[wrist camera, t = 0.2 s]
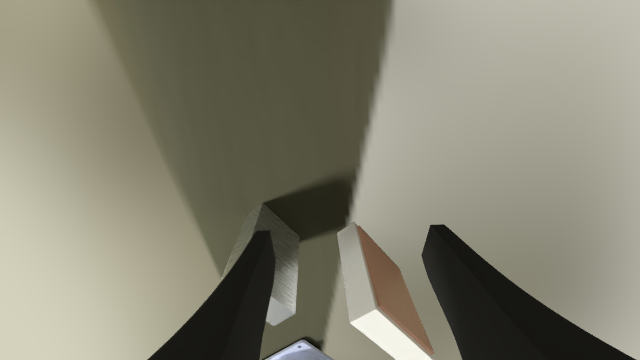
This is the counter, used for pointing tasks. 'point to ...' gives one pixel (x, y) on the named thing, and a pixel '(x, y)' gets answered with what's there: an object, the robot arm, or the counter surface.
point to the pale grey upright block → (285, 258)
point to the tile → (380, 298)
